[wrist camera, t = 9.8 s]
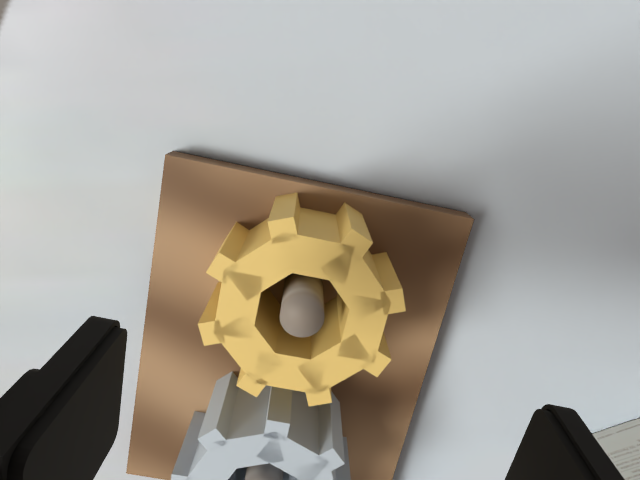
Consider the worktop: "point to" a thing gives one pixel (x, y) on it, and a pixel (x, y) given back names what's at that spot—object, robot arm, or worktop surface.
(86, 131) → the worktop surface
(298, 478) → the slate gear
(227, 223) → the gear board
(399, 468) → the worktop surface
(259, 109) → the worktop surface
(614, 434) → the supplement box
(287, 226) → the ochre gear
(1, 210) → the worktop surface
